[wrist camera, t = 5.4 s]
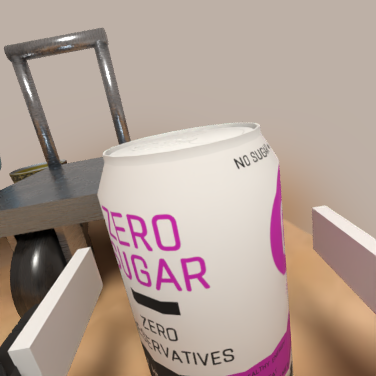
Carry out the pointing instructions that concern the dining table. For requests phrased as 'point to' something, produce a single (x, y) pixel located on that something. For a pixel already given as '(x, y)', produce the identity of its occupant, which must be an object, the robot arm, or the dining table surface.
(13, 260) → the trolley
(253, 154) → the supplement can
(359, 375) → the dining table surface
